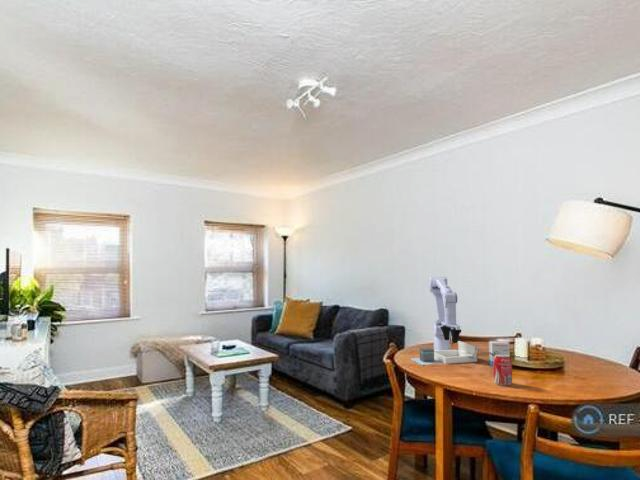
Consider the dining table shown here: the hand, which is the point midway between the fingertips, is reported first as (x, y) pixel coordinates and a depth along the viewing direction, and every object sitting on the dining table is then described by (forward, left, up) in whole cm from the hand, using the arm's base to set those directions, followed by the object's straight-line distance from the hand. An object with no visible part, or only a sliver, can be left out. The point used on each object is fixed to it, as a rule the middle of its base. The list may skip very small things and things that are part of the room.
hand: (450, 341), depth 207 cm
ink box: (+17, +16, -10) cm, 25 cm away
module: (+1, -15, -9) cm, 17 cm away
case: (+2, +1, -9) cm, 10 cm away
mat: (+1, -15, -9) cm, 18 cm away
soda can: (+42, -2, -10) cm, 43 cm away
